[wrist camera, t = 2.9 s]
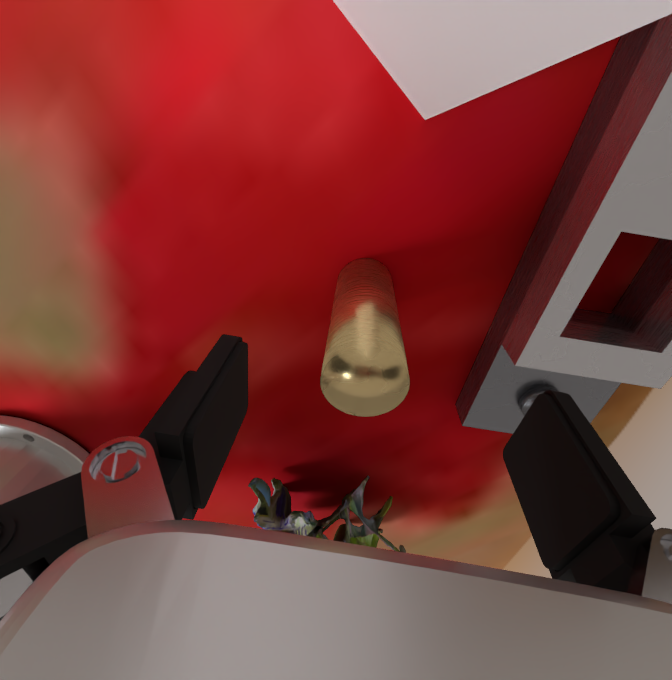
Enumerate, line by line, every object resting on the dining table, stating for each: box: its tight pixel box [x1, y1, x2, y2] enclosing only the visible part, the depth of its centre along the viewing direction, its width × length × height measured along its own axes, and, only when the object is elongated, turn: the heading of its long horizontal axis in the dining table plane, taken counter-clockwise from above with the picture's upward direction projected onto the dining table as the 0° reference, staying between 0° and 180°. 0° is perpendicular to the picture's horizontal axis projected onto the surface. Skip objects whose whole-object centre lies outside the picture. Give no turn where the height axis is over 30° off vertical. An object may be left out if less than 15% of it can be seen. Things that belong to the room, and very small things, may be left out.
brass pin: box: [320, 258, 410, 417], centre depth 16 cm, size 3×3×9 cm
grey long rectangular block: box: [455, 14, 672, 434], centre depth 16 cm, size 22×8×5 cm, turn 172°
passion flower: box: [248, 476, 406, 553], centre depth 27 cm, size 11×11×12 cm
